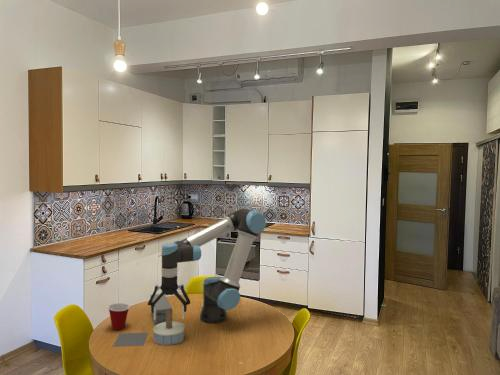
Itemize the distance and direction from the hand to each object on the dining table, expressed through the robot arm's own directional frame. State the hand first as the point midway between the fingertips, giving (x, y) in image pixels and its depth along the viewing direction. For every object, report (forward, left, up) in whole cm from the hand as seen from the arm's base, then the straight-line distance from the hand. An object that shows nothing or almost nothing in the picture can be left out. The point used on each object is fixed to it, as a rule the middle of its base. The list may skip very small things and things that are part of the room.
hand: (169, 318), depth 180 cm
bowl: (0, 0, -10) cm, 10 cm away
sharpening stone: (+7, -23, -10) cm, 26 cm away
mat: (+18, 0, -10) cm, 21 cm away
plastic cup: (+27, -14, -10) cm, 32 cm away
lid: (0, 0, -5) cm, 5 cm away
